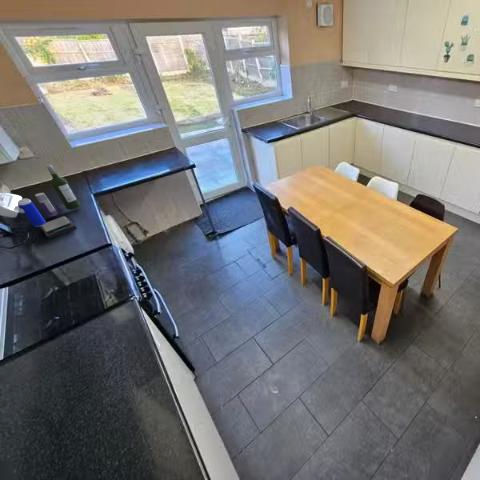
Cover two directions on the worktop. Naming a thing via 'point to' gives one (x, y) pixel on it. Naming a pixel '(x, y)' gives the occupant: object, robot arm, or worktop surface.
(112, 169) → the worktop surface
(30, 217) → the beverage can
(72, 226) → the scale
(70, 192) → the wine bottle
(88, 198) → the worktop surface
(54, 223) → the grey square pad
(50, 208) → the container
